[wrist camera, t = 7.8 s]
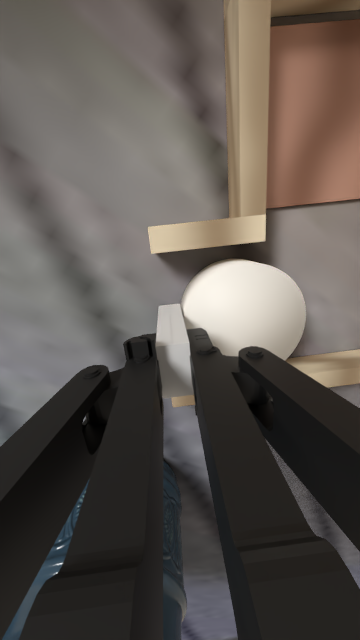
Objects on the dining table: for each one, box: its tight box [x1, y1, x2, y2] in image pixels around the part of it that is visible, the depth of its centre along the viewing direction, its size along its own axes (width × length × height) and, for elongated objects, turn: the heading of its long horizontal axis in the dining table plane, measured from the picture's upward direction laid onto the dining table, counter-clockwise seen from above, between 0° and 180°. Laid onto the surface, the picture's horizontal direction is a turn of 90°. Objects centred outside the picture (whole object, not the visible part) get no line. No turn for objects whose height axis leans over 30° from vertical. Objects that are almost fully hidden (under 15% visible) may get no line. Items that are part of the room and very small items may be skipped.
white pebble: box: [180, 258, 306, 361], centre depth 16 cm, size 8×8×4 cm
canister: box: [2, 460, 187, 640], centre depth 15 cm, size 13×13×18 cm
